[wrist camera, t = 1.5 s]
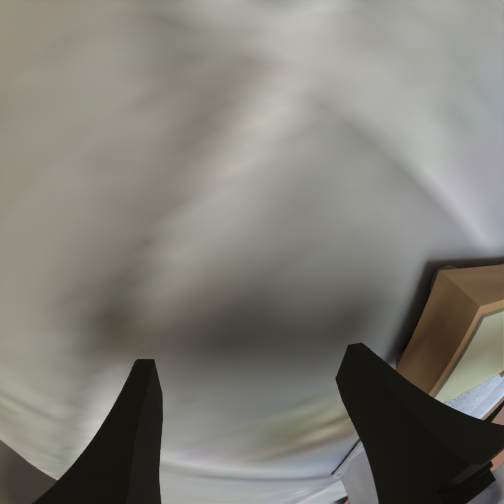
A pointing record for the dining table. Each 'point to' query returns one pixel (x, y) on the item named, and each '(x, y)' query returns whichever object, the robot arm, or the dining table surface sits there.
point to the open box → (457, 333)
